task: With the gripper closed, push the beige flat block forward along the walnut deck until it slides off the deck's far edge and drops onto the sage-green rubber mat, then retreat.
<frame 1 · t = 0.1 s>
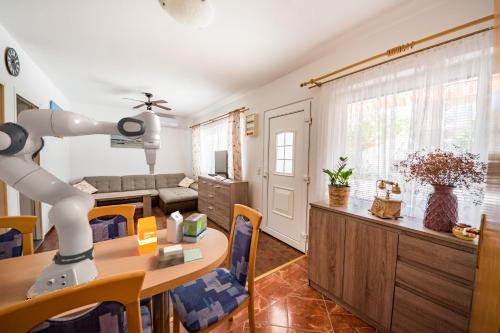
hand: (152, 172, 96), 48 cm above the table, fingers open, 8 cm apart
orange juice: (147, 250, 112), on the table
beige flat block: (172, 251, 104), point 4 cm above the table, touching deck
tea box: (195, 237, 131), on the table
mat: (191, 254, 108), on the table
deck: (171, 259, 103), on the table
milk carton: (175, 240, 126), on the table
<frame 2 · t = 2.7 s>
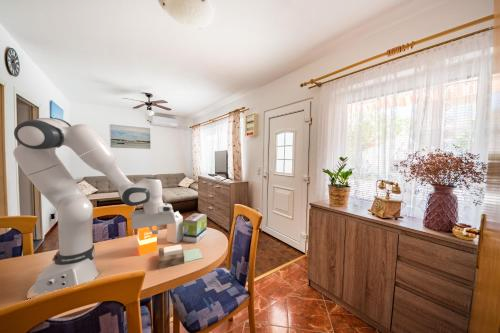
hand: (155, 233, 99), 16 cm above the table, fingers closed
nothing on the table moved.
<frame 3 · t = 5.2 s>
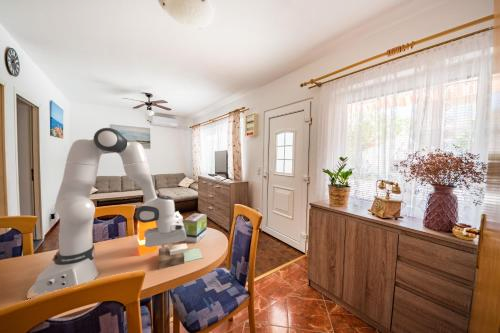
hand: (166, 251, 102), 5 cm above the table, fingers closed
beige flat block: (178, 250, 105), point 4 cm above the table, touching deck
everything else where it was.
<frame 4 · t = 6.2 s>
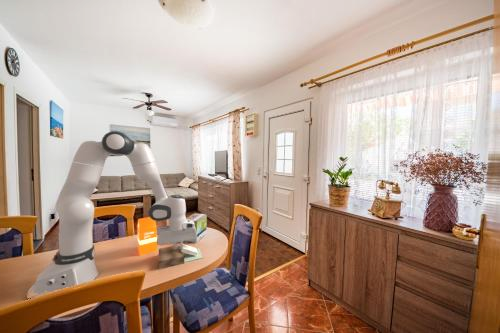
hand: (178, 248, 105), 5 cm above the table, fingers closed
beige flat block: (187, 251, 107), point 2 cm above the table, tilted 29°, touching gripper
everything else where it was.
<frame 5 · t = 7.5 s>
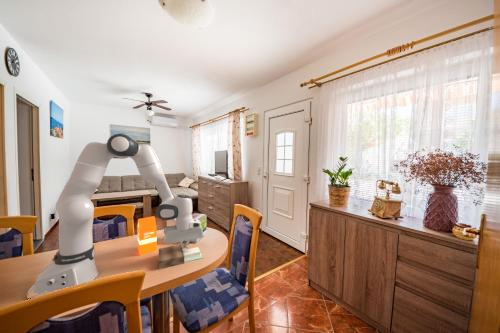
hand: (184, 247, 106), 5 cm above the table, fingers closed
beige flat block: (191, 254, 108), resting on mat
everything else where it was.
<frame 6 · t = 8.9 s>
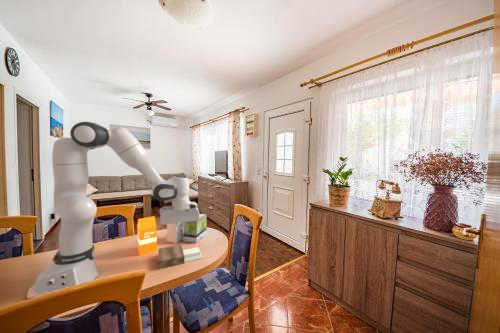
hand: (180, 229, 104), 16 cm above the table, fingers closed
nothing on the table moved.
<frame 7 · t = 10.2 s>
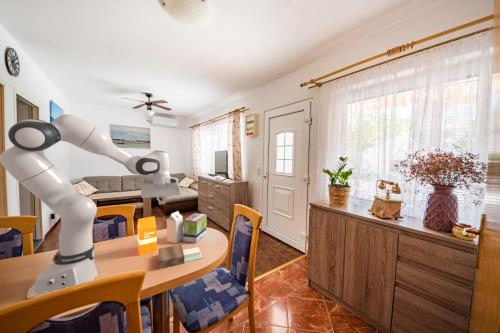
hand: (161, 204, 107), 29 cm above the table, fingers closed
nothing on the table moved.
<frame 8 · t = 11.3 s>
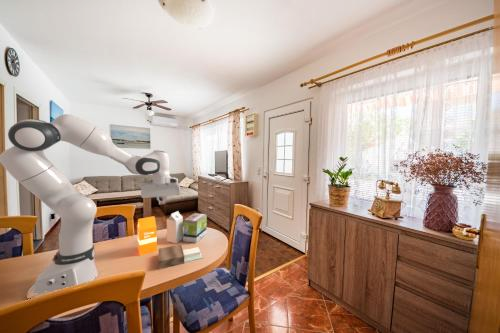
hand: (161, 204, 107), 29 cm above the table, fingers closed
nothing on the table moved.
at the end: beige flat block resting on mat; beige flat block inside the target area on the mat (0.4 cm from its centre), point 0.3 cm above the mat's base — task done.
